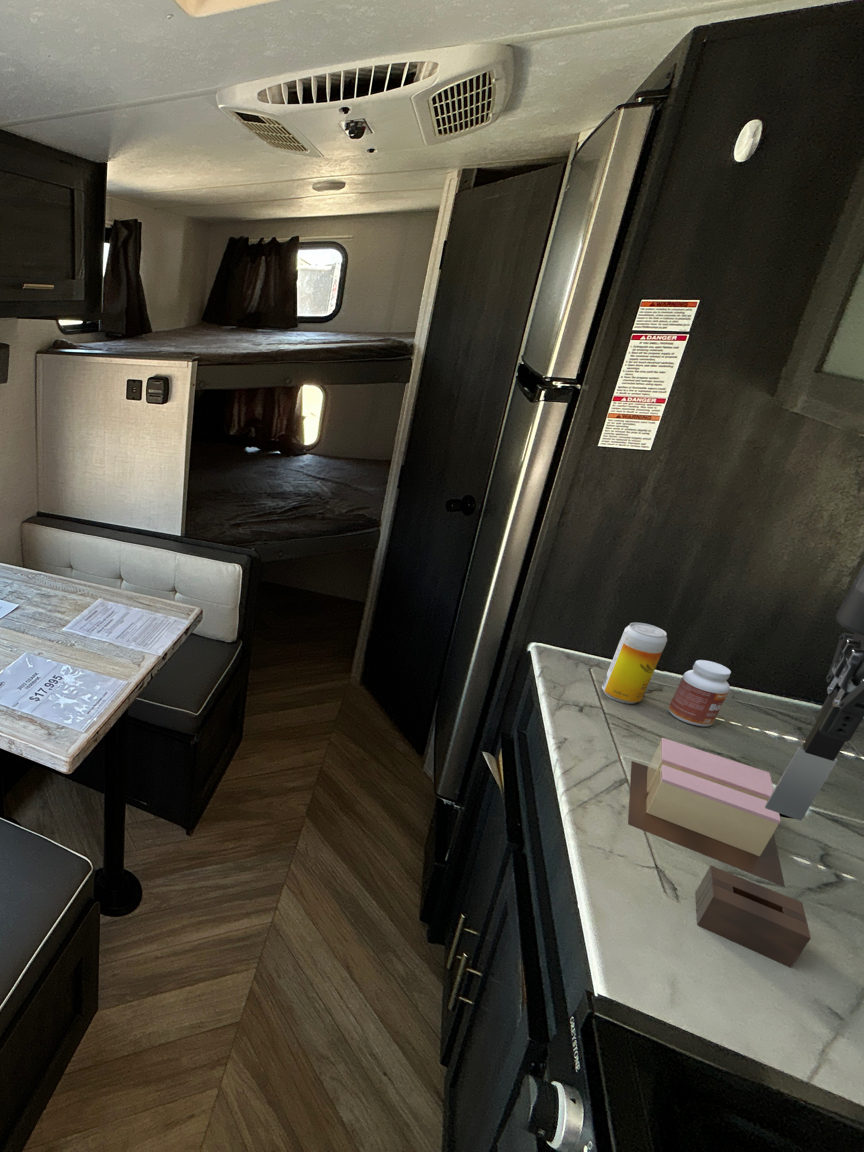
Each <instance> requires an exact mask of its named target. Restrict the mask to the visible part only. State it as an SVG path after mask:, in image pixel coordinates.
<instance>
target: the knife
mask: <svg viewBox="0 0 864 1152" xmlns="http://www.w3.org/2000/svg"><path fill="white" fill-rule="evenodd" d="M839 690H840V689H838V688H835V689H834V691H833V693H832V695H831V694H830V695H831V697H830V698H829V700H828V702H827V704H826V705H825V707H824V709H823V711H822V712H821V714H820V716H819V718H818V719H817V721H815V723H814V724H813V726H812V728H811V730H810V732H809V734H808V736H807V737H806V739H805V740H804V743H803V744H802V747H800V746H798V747H797V748H796V750H795V752H794V753H793V756H792V757H791V759H790V760H789V762H788V764H787V766H786V768H785V770H784V771H783V772H782V775H781V776H780V778H779V780H778V782H777V783H776V786H775V787H774V788H773V789H774V791H773V792H772V794H771V796H770V798H769V800H768V801H767V803H766V805H765V808H766V809H769V810H772V811H775V812H777V813H779V815H780V814H781V815H784V816H786V817H789V818H792V819H795V820H798V821H802V820H803V819H804V817H805V815H806V814H807V812H808V810H809V809H810V807H811V806H812V804H813V802H814V800H815V799H816V797H817V796H818V794H819V793H820V791H821V789H822V786H824V784H825V783H826V780H827V779H828V778H829V776H830V774H831V772H832V770H833V769H834V767H835V766H836V764H837V763H838V758H837V757H838V754H839V753H840V751H841V750H842V748H843V746H844V745H845V744H846V741H840V740H836V739H833V738H829V737H826V736H823V735H822V734H821V733H820V731H819V728H820V726H821V724H822V722H823V721H824V719H825V717H826V715H827V714H828V712H829V710H830V708H831V707H832V705H833V700H834V699H835V698H836V696H837V694H838V692H839Z"/></svg>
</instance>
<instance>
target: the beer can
mask: <svg viewBox="0 0 864 1152" xmlns="http://www.w3.org/2000/svg"><path fill="white" fill-rule="evenodd" d="M667 634H668V633H667V632H666V631H665V630H663V629H662V628H660V627H658V626H656V625H652V624H649V623H644V622H630V623H629V625H627V626H626V627H625V628H624V631H623V632H622V635H621V637H620V639H619V641H618V644H617V647H616V650H615V653H614V655H613V658H612V660H611V662H610V665H609V667H608V670H607V672H606V674H605V677H604V680H603V682H602V685H601V689H602V690H603V693H604V694H605V696H606V697H608V698H610V699H611V700H614V701H616V702H619V703H622V704H627V705H634V704H637V703H639V702H641V701H642V700H643V698H644V695H645V693H646V691H647V689H648V687H649V684H650V681H651V679H652V677H653V675H654V672H655V670H656V668H657V665H658V663H659V660H660V659H661V656H662V654H663V652H664V649H665V647H666V645H667V642H668V637H667Z"/></svg>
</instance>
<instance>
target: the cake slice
mask: <svg viewBox="0 0 864 1152" xmlns="http://www.w3.org/2000/svg"><path fill="white" fill-rule="evenodd" d="M766 803H767V801H766V800H763V799H760V798H757V797H755V796H752V795H749V794H746V793H743V792H740V791H737V790H734V789H732V788H729V787H726V786H723V785H720V784H717V783H714V782H711V781H708V780H706V779H703V778H700V777H697V776H694V775H691V774H688V773H685V772H683V771H680V770H677V769H674V768H671V767H668V766H665V765H662V766H661V768H660V771H659V773H658V775H657V777H656V779H655V781H654V783H653V786H652V788H651V790H650V792H649V794H648V796H647V806H646V813H648V814H651V815H653V816H656V817H659V818H661V819H664V820H666V821H669V822H672V823H674V824H677V825H679V826H682V827H685V828H687V829H690V830H692V831H695V832H697V833H700V834H703V835H705V836H708V837H710V838H713V839H716V840H718V841H721V842H723V843H726V844H728V845H731V846H734V847H736V848H739V849H741V850H744V851H747V852H749V853H752V854H754V855H757V856H760V855H761V854H762V852H763V850H764V849H765V847H766V845H767V844H768V842H769V840H770V839H771V837H772V835H773V833H774V834H775V832H776V830H777V829H778V826H779V825H780V824H781V821H782V820H781V815H780V813H777V812H775V811H772V810H769V809H766V808H765V805H766Z"/></svg>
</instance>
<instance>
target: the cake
mask: <svg viewBox="0 0 864 1152" xmlns="http://www.w3.org/2000/svg"><path fill="white" fill-rule="evenodd" d="M662 765H665V766H668V767H671V768H674V769H677V770H680V771H683V772H685V773H688V774H691V775H694V776H697V777H700V778H703V779H706V780H708V781H711V782H714V783H717V784H720V785H723V786H726V787H729V788H732V789H734V790H737V791H740V792H743V793H746V794H749V795H752V796H755V797H757V798H760V799H763V800H766V801H768V800H769V798H770V796H771V794H772V792H773V791H774V789H775V788H774V785H773V782H772V781H773V780H772V776H771V773H770V772H769V771H765V770H762V769H759V768H757V767H753V766H750V765H747V764H744V763H742V762H738V761H736V760H732V759H729V758H727V757H723V756H720V755H716V754H713V753H711V752H707V751H705V750H702V749H699V748H696V747H692V746H689V745H687V744H683V743H680V742H677V741H675V740H672V739H668V738H665V737H661V739H660V741H659V743H658V745H657V748H656V750H655V752H654V753H653V756H652V759H651V761H650V763H649V765H648V769H647V792H648V793H649V792H650V790H651V788H652V786H653V783H654V781H655V779H656V777H657V775H658V773H659V771H660V768H661V766H662Z"/></svg>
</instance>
